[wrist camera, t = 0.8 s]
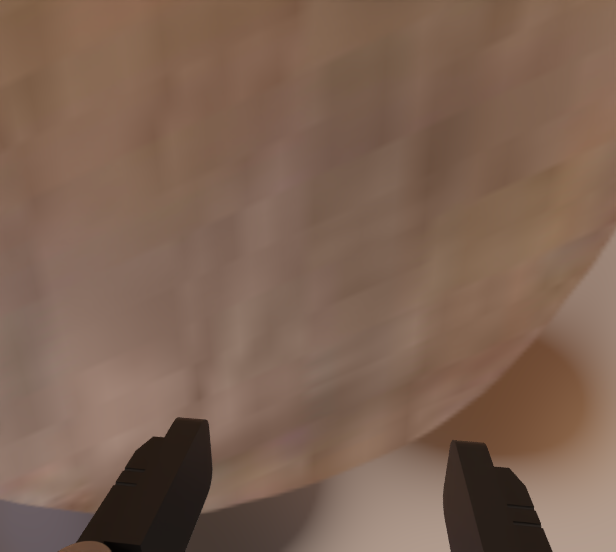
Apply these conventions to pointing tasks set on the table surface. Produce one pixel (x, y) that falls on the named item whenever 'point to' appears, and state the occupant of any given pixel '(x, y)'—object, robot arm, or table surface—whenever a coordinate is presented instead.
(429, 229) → the table surface
